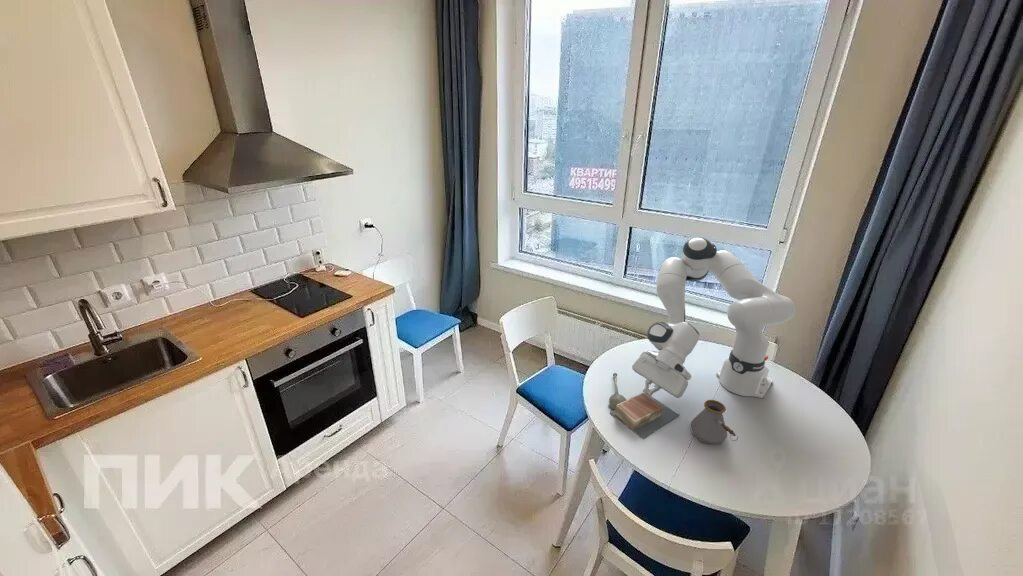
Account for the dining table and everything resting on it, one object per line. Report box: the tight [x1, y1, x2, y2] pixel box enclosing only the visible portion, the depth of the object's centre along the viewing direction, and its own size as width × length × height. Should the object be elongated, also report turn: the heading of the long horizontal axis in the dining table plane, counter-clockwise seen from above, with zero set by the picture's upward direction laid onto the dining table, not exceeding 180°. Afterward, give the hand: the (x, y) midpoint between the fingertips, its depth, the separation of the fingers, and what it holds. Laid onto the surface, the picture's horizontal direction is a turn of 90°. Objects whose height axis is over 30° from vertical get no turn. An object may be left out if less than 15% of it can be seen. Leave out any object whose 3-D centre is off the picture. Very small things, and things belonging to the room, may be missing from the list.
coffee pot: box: [689, 399, 739, 445], centre depth 132 cm, size 21×12×15 cm, turn 174°
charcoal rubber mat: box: [609, 392, 680, 440], centre depth 148 cm, size 20×15×1 cm
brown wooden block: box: [615, 392, 663, 431], centre depth 146 cm, size 4×9×14 cm
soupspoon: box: [608, 372, 627, 410], centre depth 159 cm, size 22×3×7 cm
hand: (646, 393), depth 147 cm, fingers closed
